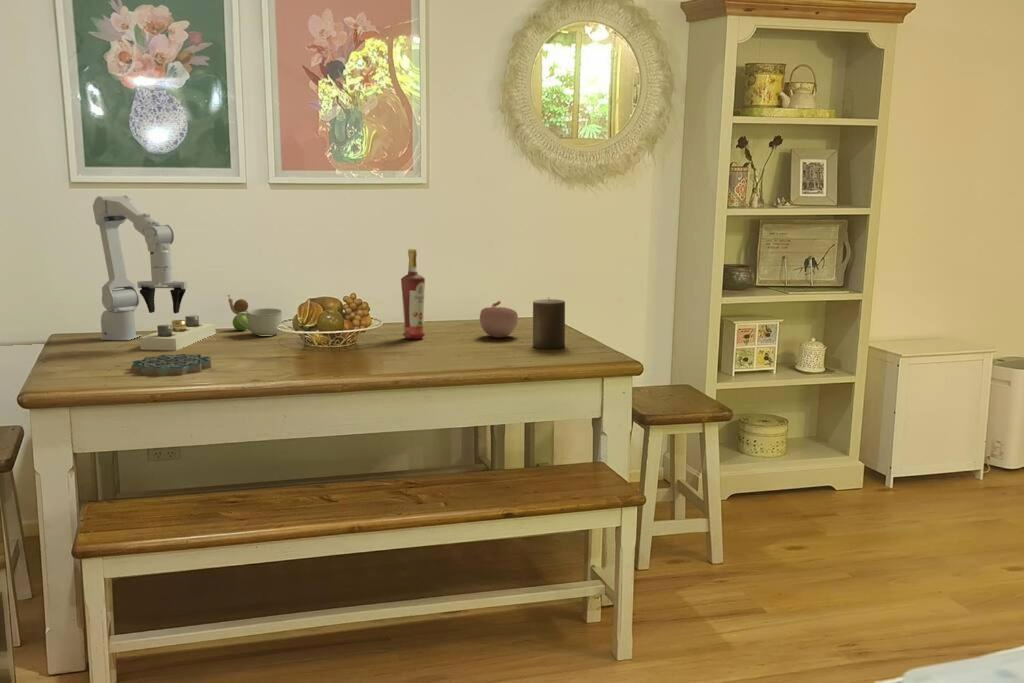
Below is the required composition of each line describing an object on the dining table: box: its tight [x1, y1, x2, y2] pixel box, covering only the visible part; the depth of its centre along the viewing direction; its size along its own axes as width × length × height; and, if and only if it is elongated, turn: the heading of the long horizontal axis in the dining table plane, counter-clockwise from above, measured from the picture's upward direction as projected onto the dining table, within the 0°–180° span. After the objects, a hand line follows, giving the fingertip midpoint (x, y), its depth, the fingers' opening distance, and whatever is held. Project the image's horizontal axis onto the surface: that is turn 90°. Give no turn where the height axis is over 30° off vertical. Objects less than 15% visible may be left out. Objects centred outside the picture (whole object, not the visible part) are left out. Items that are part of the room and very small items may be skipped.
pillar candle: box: [532, 298, 566, 350], centre depth 287 cm, size 10×10×15 cm
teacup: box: [237, 307, 283, 336], centre depth 306 cm, size 14×11×8 cm
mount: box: [139, 323, 217, 351], centre depth 295 cm, size 11×27×4 cm, turn 173°
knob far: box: [184, 315, 200, 327], centre depth 303 cm, size 4×4×3 cm
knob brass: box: [171, 319, 186, 332], centre depth 294 cm, size 4×4×3 cm
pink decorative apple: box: [479, 300, 519, 339], centre depth 302 cm, size 12×12×12 cm
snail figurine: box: [227, 294, 249, 331], centre depth 314 cm, size 5×6×12 cm
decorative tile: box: [131, 353, 212, 377], centre depth 257 cm, size 20×20×2 cm
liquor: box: [400, 248, 426, 341], centre depth 298 cm, size 7×7×28 cm
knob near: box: [157, 324, 172, 337], centre depth 285 cm, size 4×4×3 cm
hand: (164, 312), depth 285 cm, fingers open, 7 cm apart
